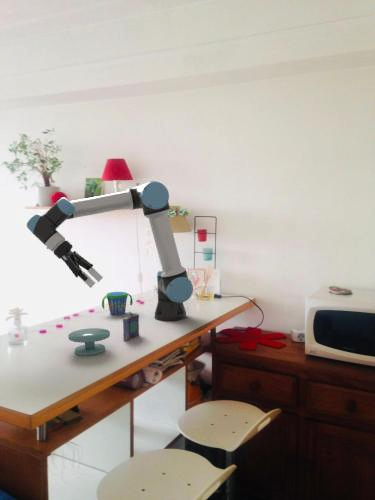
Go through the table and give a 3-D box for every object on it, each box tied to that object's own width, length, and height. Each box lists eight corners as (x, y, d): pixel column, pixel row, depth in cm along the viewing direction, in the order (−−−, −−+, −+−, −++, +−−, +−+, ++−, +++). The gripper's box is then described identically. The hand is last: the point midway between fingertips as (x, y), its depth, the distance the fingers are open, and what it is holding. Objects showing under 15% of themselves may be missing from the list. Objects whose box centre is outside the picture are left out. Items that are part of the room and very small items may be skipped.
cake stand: (113, 344, 172) (113, 327, 172) (106, 357, 157) (105, 339, 157) (75, 344, 173) (74, 328, 172) (63, 357, 158) (63, 340, 157)
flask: (127, 341, 176) (126, 314, 175) (121, 340, 177) (120, 314, 176) (140, 335, 184) (139, 309, 183) (134, 334, 185) (134, 309, 184)
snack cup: (129, 309, 231) (129, 290, 230) (135, 313, 221) (135, 293, 220) (100, 312, 224) (99, 293, 223) (104, 317, 215) (103, 296, 214)
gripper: (62, 249, 193) (97, 283, 194) (42, 255, 168) (82, 294, 169) (74, 237, 193) (109, 271, 194) (55, 241, 168) (96, 281, 169)
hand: (97, 282), depth 182 cm, fingers open, 13 cm apart
